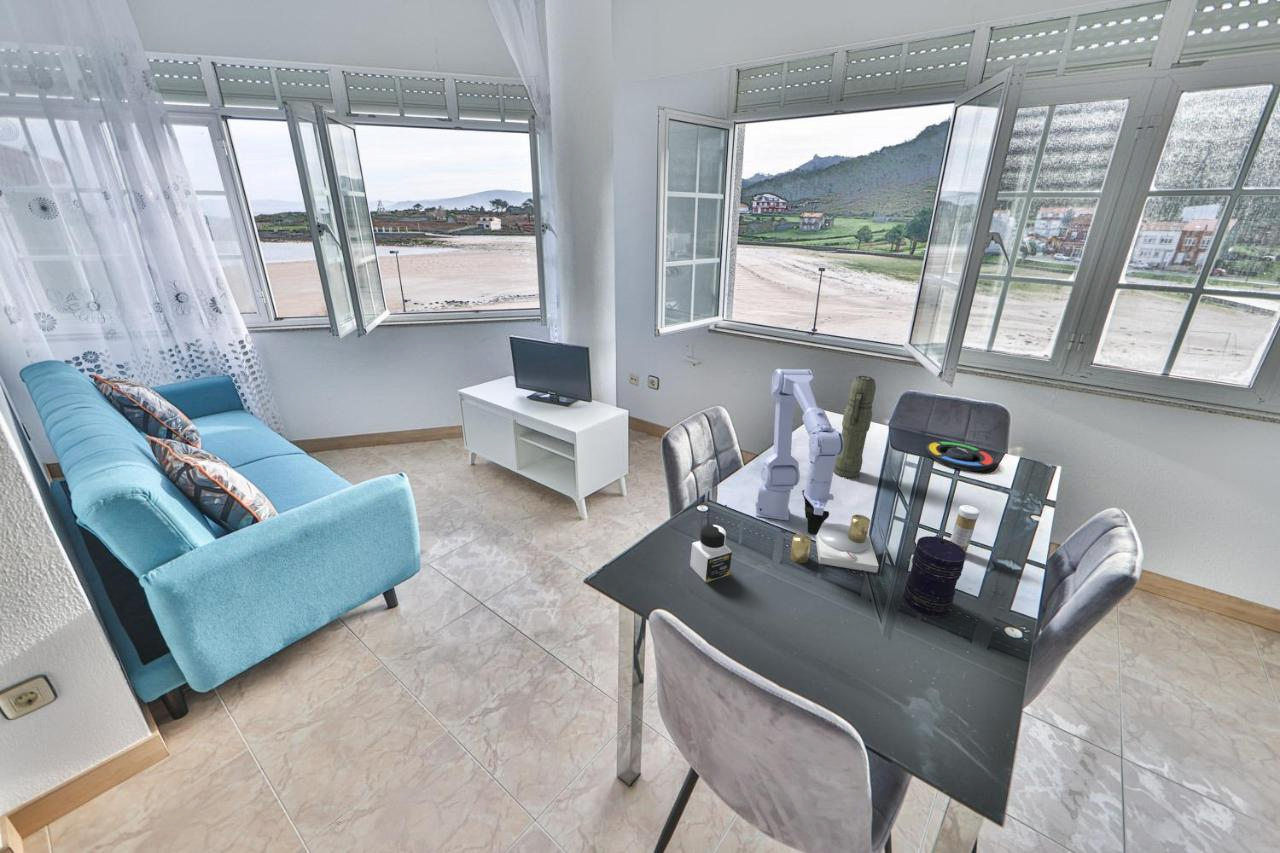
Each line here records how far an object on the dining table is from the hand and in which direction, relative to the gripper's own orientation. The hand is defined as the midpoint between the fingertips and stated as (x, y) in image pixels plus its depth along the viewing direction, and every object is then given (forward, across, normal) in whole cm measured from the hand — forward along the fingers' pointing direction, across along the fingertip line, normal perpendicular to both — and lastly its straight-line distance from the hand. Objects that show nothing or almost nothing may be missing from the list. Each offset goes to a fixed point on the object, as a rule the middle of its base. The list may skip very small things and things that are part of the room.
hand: (810, 525), depth 133 cm
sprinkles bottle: (+10, +14, -40) cm, 44 cm away
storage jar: (+10, -11, -26) cm, 30 cm away
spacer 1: (+10, -1, +2) cm, 10 cm away
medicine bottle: (+10, -13, +24) cm, 29 cm away
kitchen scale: (+9, +7, -10) cm, 16 cm away
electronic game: (+10, +82, -62) cm, 104 cm away
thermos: (+10, +57, -18) cm, 60 cm away
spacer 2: (+7, +8, -14) cm, 17 cm away
